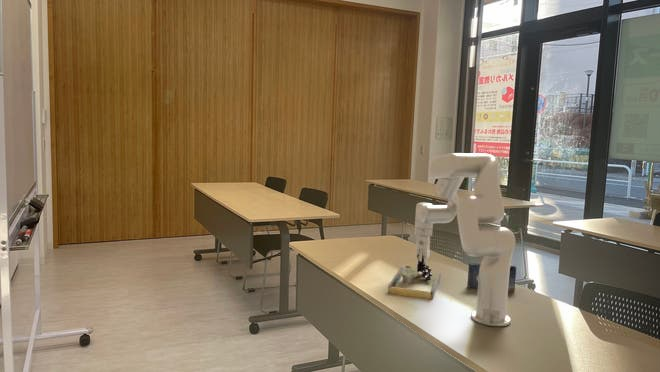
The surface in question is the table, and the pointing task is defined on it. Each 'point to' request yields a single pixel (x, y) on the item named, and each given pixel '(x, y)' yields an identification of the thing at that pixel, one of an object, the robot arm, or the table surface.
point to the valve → (415, 274)
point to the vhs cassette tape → (474, 277)
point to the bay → (410, 292)
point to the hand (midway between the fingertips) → (420, 272)
